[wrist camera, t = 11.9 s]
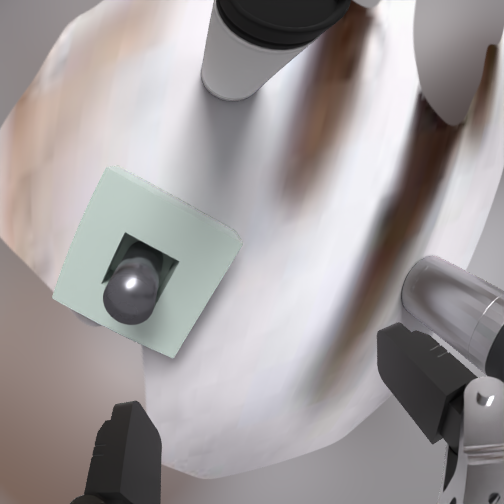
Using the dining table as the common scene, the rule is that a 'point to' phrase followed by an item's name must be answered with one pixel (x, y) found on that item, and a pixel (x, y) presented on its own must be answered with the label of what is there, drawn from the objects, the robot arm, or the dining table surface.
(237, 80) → the travel mug
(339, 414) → the dining table surface
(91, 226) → the socket block
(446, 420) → the robot arm
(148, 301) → the pin
